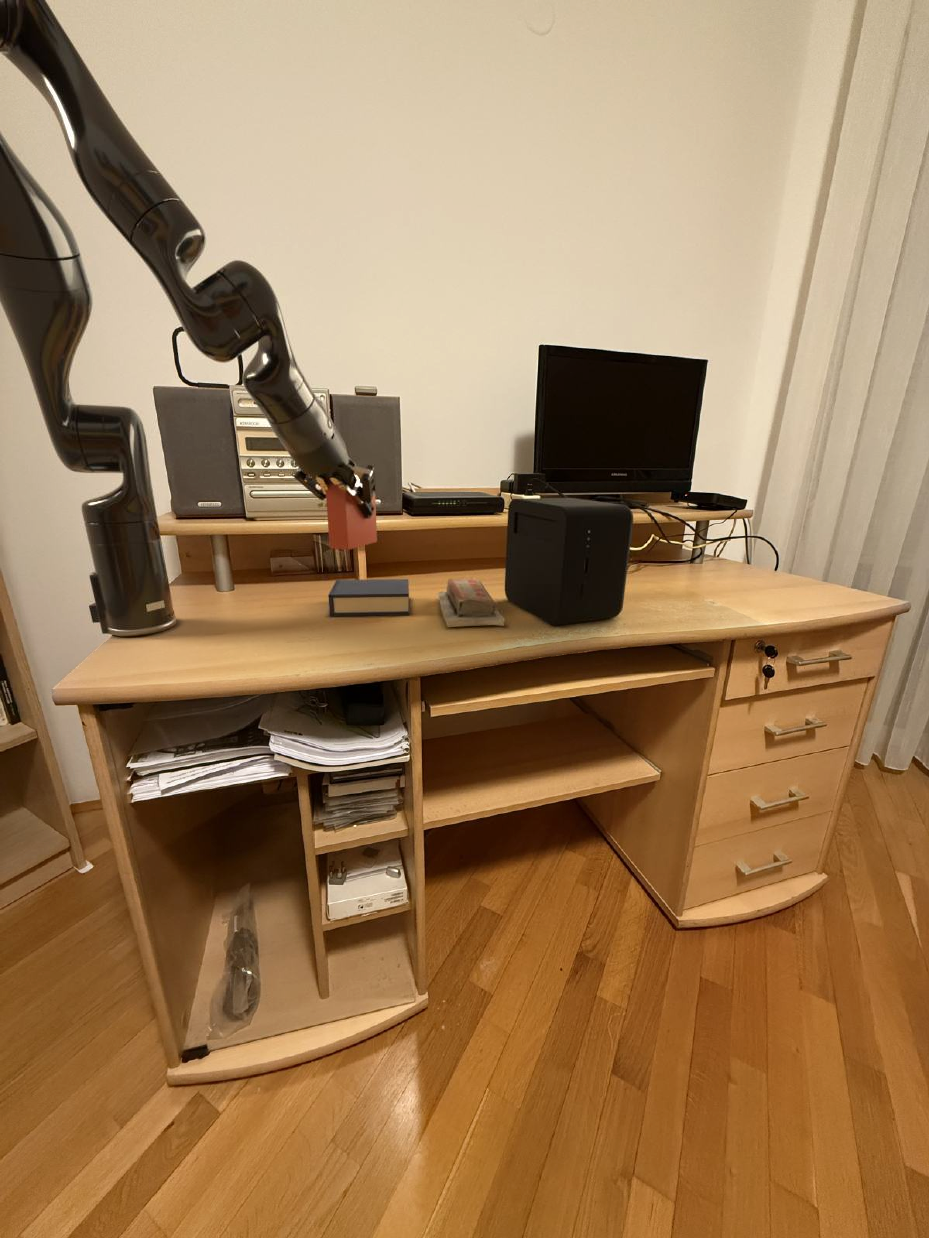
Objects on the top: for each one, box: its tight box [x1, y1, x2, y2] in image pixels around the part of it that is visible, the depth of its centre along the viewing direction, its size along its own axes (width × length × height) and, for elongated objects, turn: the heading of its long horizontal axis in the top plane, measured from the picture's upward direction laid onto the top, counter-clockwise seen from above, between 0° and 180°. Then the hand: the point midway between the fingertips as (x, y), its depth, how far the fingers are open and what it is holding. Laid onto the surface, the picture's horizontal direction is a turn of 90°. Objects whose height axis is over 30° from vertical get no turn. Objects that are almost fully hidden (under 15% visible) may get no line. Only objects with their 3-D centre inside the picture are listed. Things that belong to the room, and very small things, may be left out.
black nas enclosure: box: [504, 497, 634, 626], centre depth 90 cm, size 20×15×20 cm
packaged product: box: [437, 577, 506, 628], centre depth 90 cm, size 18×5×10 cm
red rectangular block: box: [325, 481, 378, 551], centre depth 80 cm, size 9×4×11 cm, turn 159°
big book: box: [327, 578, 410, 617], centre depth 92 cm, size 14×11×4 cm
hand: (359, 513), depth 82 cm, fingers closed on red rectangular block, 3 cm apart
